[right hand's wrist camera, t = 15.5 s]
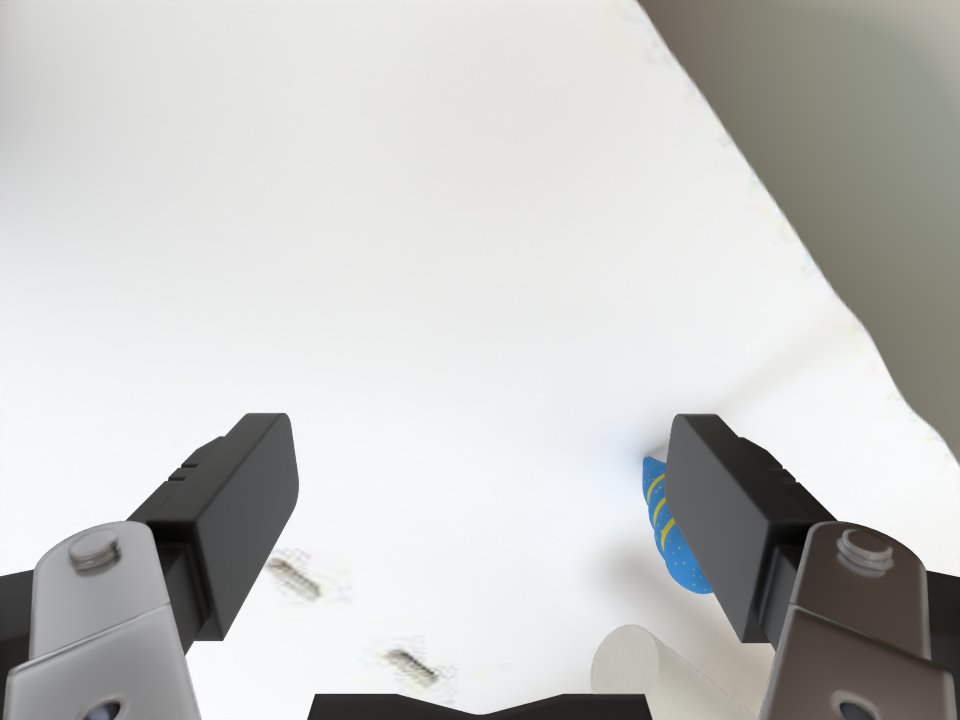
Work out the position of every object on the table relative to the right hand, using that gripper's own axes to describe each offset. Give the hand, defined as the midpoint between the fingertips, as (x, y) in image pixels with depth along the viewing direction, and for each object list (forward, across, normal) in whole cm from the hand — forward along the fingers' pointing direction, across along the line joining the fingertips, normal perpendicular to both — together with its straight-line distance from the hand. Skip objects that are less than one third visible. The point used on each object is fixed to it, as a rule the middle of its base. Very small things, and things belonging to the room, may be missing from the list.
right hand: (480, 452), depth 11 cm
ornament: (+29, -14, +18) cm, 37 cm away
